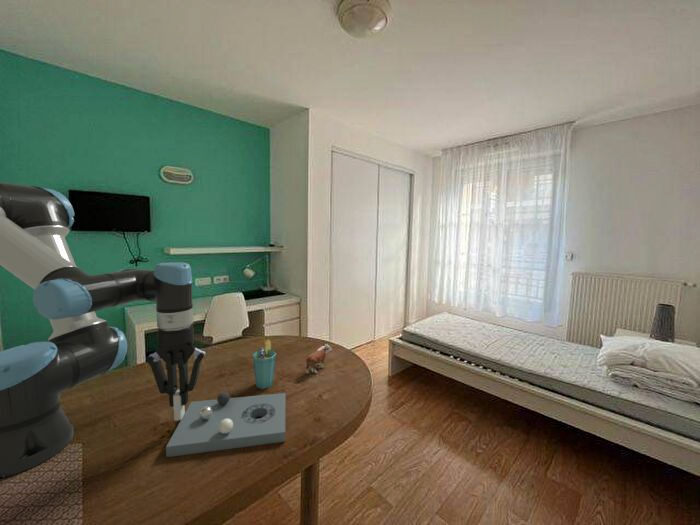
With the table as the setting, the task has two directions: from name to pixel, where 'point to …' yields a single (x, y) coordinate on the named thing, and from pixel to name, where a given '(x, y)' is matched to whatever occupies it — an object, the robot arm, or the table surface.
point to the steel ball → (205, 413)
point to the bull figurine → (317, 358)
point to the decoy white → (225, 426)
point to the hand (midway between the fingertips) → (179, 416)
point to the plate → (245, 431)
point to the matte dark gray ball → (223, 398)
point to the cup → (264, 366)
